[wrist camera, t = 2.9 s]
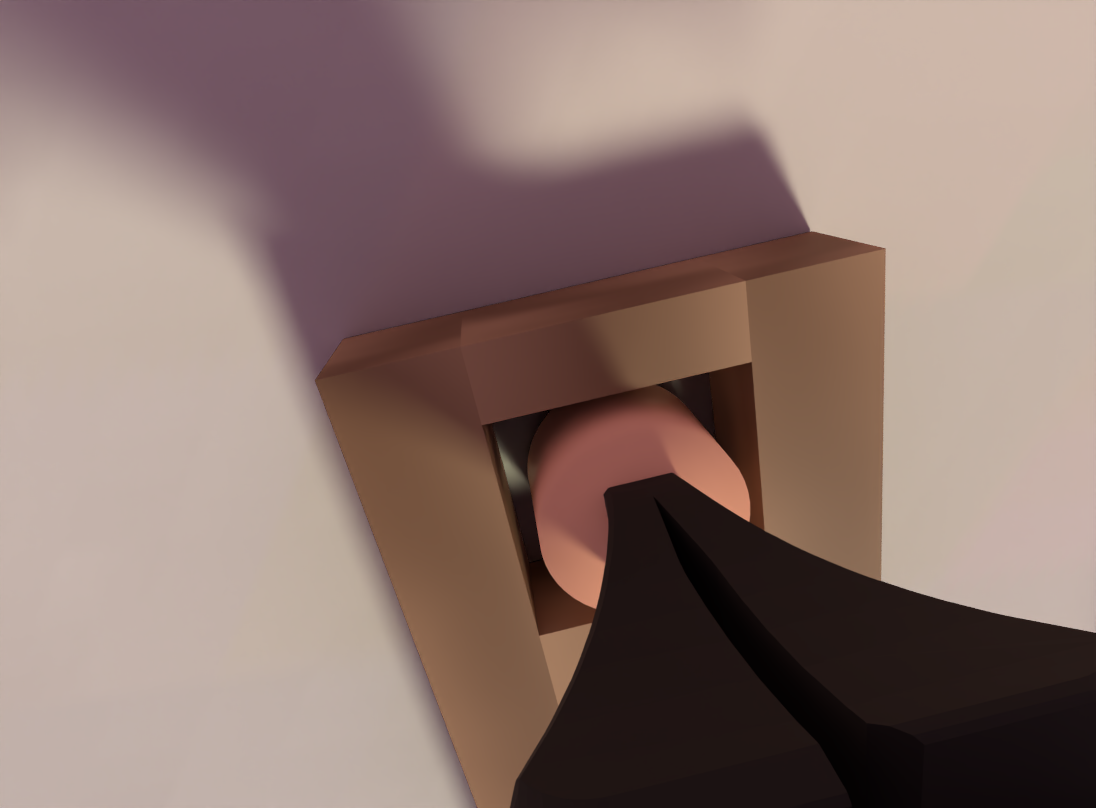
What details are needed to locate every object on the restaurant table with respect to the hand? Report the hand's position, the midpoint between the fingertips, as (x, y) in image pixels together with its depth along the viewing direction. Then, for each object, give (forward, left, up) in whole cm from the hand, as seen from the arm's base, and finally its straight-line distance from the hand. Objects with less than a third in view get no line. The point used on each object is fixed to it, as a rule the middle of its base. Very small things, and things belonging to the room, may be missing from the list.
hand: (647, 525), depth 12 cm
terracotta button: (0, 0, -3) cm, 3 cm away
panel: (0, -8, -3) cm, 9 cm away
